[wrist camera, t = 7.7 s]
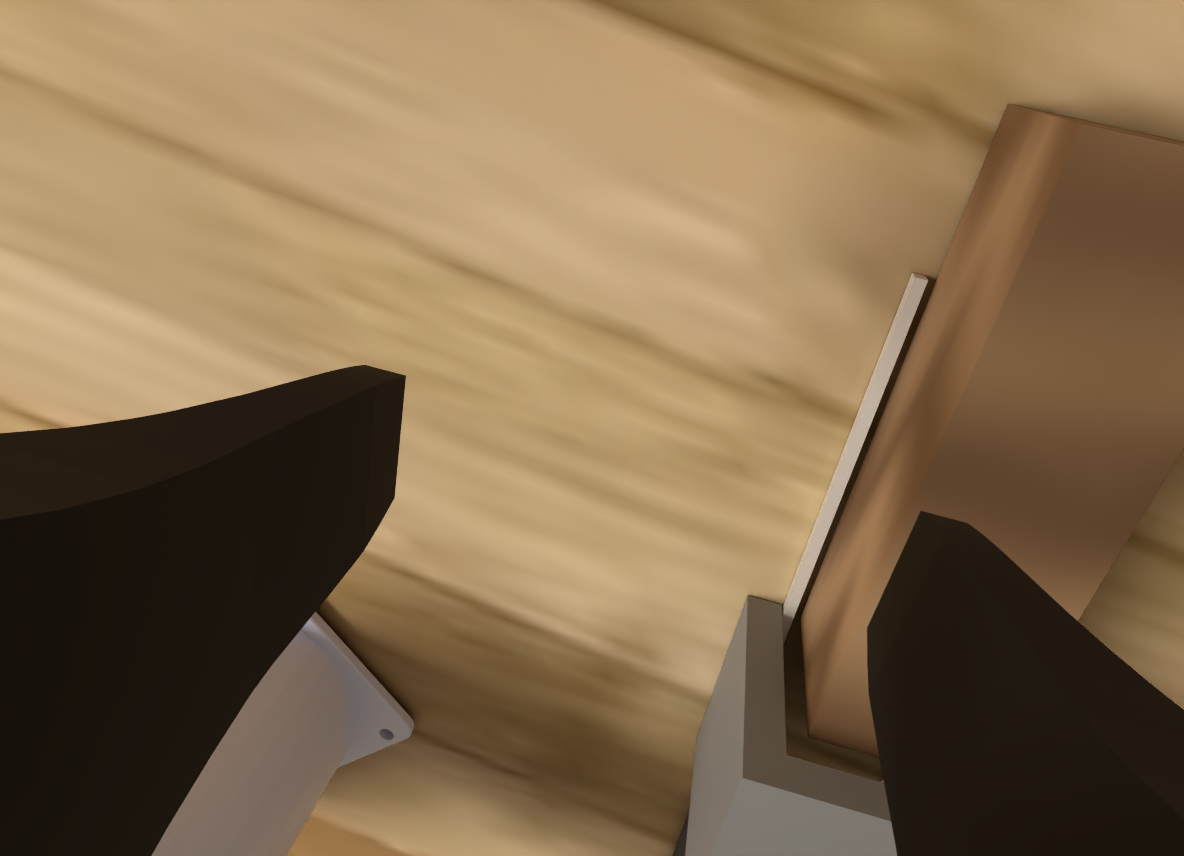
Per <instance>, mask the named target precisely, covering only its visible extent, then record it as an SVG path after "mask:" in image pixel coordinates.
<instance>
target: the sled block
mask: <svg viewBox="0 0 1184 856" xmlns="http://www.w3.org/2000/svg"><path fill="white" fill-rule="evenodd" d="M1183 449H1184V142H1181V141H1177V140H1172V139H1168V138H1163V137H1158V136H1154V135H1149V134H1145V133H1140V132H1136V131H1131V130H1126V129H1122V128H1117V127H1113V126H1108V125H1103V124H1099V123H1094V122H1090V121H1085V120H1081V119H1076V118H1071V117H1067V116H1062V115H1058V114H1053V113H1049V112H1044V111H1039V110H1035V109H1030V108H1026V107H1021V106H1017V105H1012V104H1007V107H1006V109H1005V112H1004V114H1003V117H1002V119H1001V121H1000V124H999V126H998V129H997V131H996V134H995V136H994V139H993V141H992V144H991V146H990V149H989V151H988V154H987V156H986V159H985V161H984V164H983V166H982V169H981V171H980V174H979V176H978V178H977V181H976V183H975V186H974V188H973V191H972V193H971V196H970V198H969V201H968V203H967V206H966V208H965V211H964V213H963V216H962V218H961V221H960V223H959V226H958V228H957V231H956V233H955V235H954V238H953V240H952V243H951V245H950V248H949V250H948V253H947V255H946V258H945V260H944V263H943V265H942V268H941V270H940V273H939V275H938V278H937V280H936V283H935V285H934V288H933V290H932V292H931V295H930V297H929V300H928V302H927V305H926V307H925V310H924V312H923V315H922V317H921V320H920V322H919V325H918V327H917V330H916V332H915V335H914V337H913V340H912V342H911V345H910V347H909V349H908V352H907V354H906V357H905V359H904V362H903V364H902V367H901V369H900V372H899V374H898V377H897V379H896V382H895V384H894V387H893V389H892V392H891V394H890V397H889V399H888V402H887V404H886V407H885V409H884V411H883V414H882V416H881V419H880V421H879V424H878V426H877V429H876V431H875V434H874V436H873V439H872V441H871V444H870V446H869V449H868V451H867V454H866V456H865V459H864V461H863V464H862V466H861V468H860V471H859V473H858V476H857V478H856V481H855V483H854V486H853V488H852V491H851V493H850V496H849V498H848V501H847V503H846V506H845V508H844V511H843V513H842V516H841V518H840V521H839V523H838V525H837V528H836V530H835V533H834V535H833V538H832V540H831V543H830V545H829V548H828V550H827V553H826V555H825V558H824V560H823V563H822V565H821V568H820V570H819V573H818V575H817V578H816V580H815V582H814V585H813V587H812V590H811V592H810V595H809V597H808V600H807V602H806V605H805V607H804V610H803V612H802V615H801V632H802V647H803V663H804V679H805V694H806V710H807V726H808V737H809V738H813V739H816V740H820V741H823V742H827V743H830V744H834V745H837V746H841V747H844V748H848V749H851V750H855V751H858V752H861V753H865V754H868V755H872V756H875V757H879V752H878V747H877V741H876V735H875V729H874V723H873V718H872V712H871V706H870V699H869V692H868V668H867V627H868V625H869V623H870V620H871V618H872V616H873V614H874V612H875V609H876V607H877V605H878V603H879V601H880V599H881V596H882V594H883V592H884V590H885V588H886V585H887V583H888V581H889V579H890V577H891V575H892V572H893V570H894V568H895V566H896V564H897V561H898V559H899V557H900V555H901V553H902V550H903V548H904V546H905V544H906V542H907V540H908V537H909V535H910V533H911V531H912V529H913V526H914V524H915V522H916V520H917V518H918V515H919V513H920V511H924V512H928V513H932V514H935V515H939V516H943V517H947V518H951V519H954V520H958V521H962V522H966V523H968V524H970V525H971V526H972V527H974V528H975V529H977V530H978V531H979V532H980V533H982V534H983V535H984V536H985V537H986V538H988V539H989V540H990V541H991V542H992V543H993V544H995V545H996V546H997V547H998V548H999V549H1000V550H1001V551H1002V552H1004V553H1005V554H1006V555H1007V556H1008V557H1009V558H1010V559H1011V560H1012V561H1013V562H1014V563H1015V564H1017V565H1018V566H1019V567H1020V568H1021V569H1022V570H1023V571H1024V572H1025V573H1026V574H1027V575H1028V576H1029V577H1030V578H1032V579H1033V580H1034V581H1035V582H1036V583H1037V584H1038V585H1039V586H1040V587H1041V588H1042V589H1043V590H1044V591H1045V592H1047V593H1048V594H1049V595H1050V596H1051V597H1052V598H1053V599H1054V600H1055V601H1056V602H1057V603H1058V604H1059V605H1061V606H1062V607H1063V608H1064V609H1065V610H1066V611H1067V612H1068V613H1069V614H1070V615H1071V616H1073V617H1074V618H1075V619H1076V620H1077V621H1078V620H1079V618H1080V617H1081V615H1082V614H1083V612H1084V610H1085V609H1086V607H1087V605H1088V604H1089V602H1090V600H1091V599H1092V597H1093V596H1094V594H1095V592H1096V591H1097V589H1098V587H1099V586H1100V584H1101V583H1102V581H1103V579H1104V578H1105V576H1106V574H1107V573H1108V571H1109V569H1110V568H1111V566H1112V565H1113V563H1114V561H1115V560H1116V558H1117V556H1118V555H1119V553H1120V552H1121V550H1122V548H1123V547H1124V545H1125V543H1126V542H1127V540H1128V538H1129V537H1130V535H1131V534H1132V532H1133V530H1134V529H1135V527H1136V525H1137V524H1138V522H1139V520H1140V519H1141V517H1142V516H1143V514H1144V512H1145V511H1146V509H1147V507H1148V506H1149V504H1150V503H1151V501H1152V499H1153V498H1154V496H1155V494H1156V493H1157V491H1158V489H1159V488H1160V486H1161V485H1162V483H1163V481H1164V480H1165V478H1166V476H1167V475H1168V473H1169V471H1170V470H1171V468H1172V467H1173V465H1174V463H1175V462H1176V460H1177V458H1178V457H1179V455H1180V454H1181V452H1182V450H1183Z"/></svg>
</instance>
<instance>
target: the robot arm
mask: <svg viewBox="0 0 1184 856" xmlns="http://www.w3.org/2000/svg"><path fill="white" fill-rule="evenodd" d="M405 379H406V376H405V375H401V374H397V373H393V372H390V371H386V370H382V369H378V368H374V367H371V366H367V365H361V366H353V367H348V368H343V369H339V370H334V371H330V372H326V373H322V374H319V375H315V376H311V377H307V378H304V379H300V380H296V381H293V382H289V383H285V384H281V385H278V386H274V387H270V388H267V389H263V390H259V391H256V392H252V393H248V394H244V395H240V396H236V397H232V398H227V399H223V400H219V401H214V402H210V403H206V404H201V405H197V406H193V407H188V408H184V409H180V410H175V411H171V412H166V413H161V414H156V415H150V416H145V417H139V418H133V419H127V420H120V421H113V422H107V423H100V424H93V425H86V426H78V427H70V428H60V429H48V430H36V431H24V432H12V433H0V856H287V854H288V853H289V851H290V849H291V847H292V846H293V844H294V842H295V840H296V839H297V837H298V835H299V834H300V832H301V830H302V828H303V827H304V825H305V823H306V822H307V820H308V818H309V816H310V815H311V813H312V811H313V810H314V808H315V806H316V804H317V803H318V801H319V799H320V797H321V796H322V794H323V792H324V791H325V789H326V787H327V785H328V784H329V782H330V780H331V779H332V777H333V775H334V773H335V772H336V770H337V768H338V767H341V766H343V765H346V764H348V763H350V762H353V761H355V760H358V759H360V758H362V757H365V756H367V755H370V754H372V753H374V752H377V751H379V750H381V749H384V748H386V747H389V746H391V745H393V744H396V743H398V742H401V741H403V740H405V739H407V738H409V737H410V735H411V733H412V731H413V729H414V727H415V726H414V721H413V720H412V718H411V717H410V716H409V715H408V714H407V713H406V711H405V710H404V709H403V708H402V707H401V706H400V705H399V704H398V703H397V701H396V700H395V699H394V698H393V697H392V696H391V695H390V694H389V693H388V691H387V690H386V689H385V688H384V687H383V686H382V685H381V684H380V683H379V681H378V680H377V679H376V678H375V677H374V676H373V675H372V674H371V672H370V671H369V670H368V669H367V668H366V667H365V666H364V665H363V664H362V662H361V661H360V660H359V659H358V658H357V657H356V656H355V655H354V654H353V652H352V651H351V650H350V649H349V648H348V647H347V646H346V645H345V644H344V642H343V641H342V640H341V639H340V638H339V637H338V636H337V635H336V634H335V632H334V631H333V630H332V629H331V628H330V627H329V626H328V625H327V623H326V622H325V621H324V620H323V619H322V618H321V617H320V616H319V615H318V613H317V612H316V610H317V609H318V608H319V607H320V605H321V604H322V603H323V602H324V600H325V599H326V598H327V597H328V596H329V594H330V593H331V592H332V591H333V589H334V588H335V587H336V586H337V584H338V583H339V582H340V580H341V579H342V578H343V577H344V575H345V574H346V573H347V572H348V570H349V569H350V568H351V567H352V565H353V564H354V563H355V561H356V560H357V559H358V558H359V556H360V555H361V554H362V552H363V551H364V549H365V548H366V546H367V545H368V543H369V541H370V540H371V538H372V536H373V535H374V533H375V531H376V530H377V528H378V526H379V524H380V523H381V521H382V519H383V517H384V516H385V514H386V512H387V510H388V508H389V507H390V505H391V503H392V501H393V500H394V497H395V486H396V476H397V465H398V454H399V443H400V433H401V422H402V411H403V400H404V390H405ZM867 668H868V692H869V699H870V706H871V712H872V718H873V723H874V729H875V735H876V741H877V747H878V752H879V758H880V763H881V769H882V774H883V780H884V785H885V791H886V796H887V802H888V807H889V813H890V818H891V824H892V829H893V835H894V840H895V846H896V851H897V856H1184V710H1183V709H1182V708H1180V707H1179V706H1178V705H1177V704H1175V703H1174V702H1173V701H1172V700H1170V699H1169V698H1168V697H1166V696H1165V695H1164V694H1163V693H1161V692H1160V691H1159V690H1158V689H1156V688H1155V687H1154V686H1153V685H1151V684H1150V683H1149V682H1148V681H1147V680H1145V679H1144V678H1143V677H1142V676H1141V675H1139V674H1138V673H1137V672H1136V671H1135V670H1133V669H1132V668H1131V667H1130V666H1129V665H1127V664H1126V663H1125V662H1124V661H1123V660H1122V659H1120V658H1119V657H1118V656H1117V655H1116V654H1114V653H1113V652H1112V651H1111V650H1110V649H1108V648H1107V647H1106V646H1105V645H1104V644H1103V643H1102V642H1100V641H1099V640H1098V639H1097V638H1096V637H1095V636H1094V635H1093V634H1091V633H1090V632H1089V631H1088V630H1087V629H1086V628H1085V627H1084V626H1082V625H1081V624H1080V623H1079V622H1078V621H1077V620H1076V619H1075V618H1074V617H1073V616H1071V615H1070V614H1069V613H1068V612H1067V611H1066V610H1065V609H1064V608H1063V607H1062V606H1061V605H1059V604H1058V603H1057V602H1056V601H1055V600H1054V599H1053V598H1052V597H1051V596H1050V595H1049V594H1048V593H1047V592H1045V591H1044V590H1043V589H1042V588H1041V587H1040V586H1039V585H1038V584H1037V583H1036V582H1035V581H1034V580H1033V579H1032V578H1030V577H1029V576H1028V575H1027V574H1026V573H1025V572H1024V571H1023V570H1022V569H1021V568H1020V567H1019V566H1018V565H1017V564H1015V563H1014V562H1013V561H1012V560H1011V559H1010V558H1009V557H1008V556H1007V555H1006V554H1005V553H1004V552H1002V551H1001V550H1000V549H999V548H998V547H997V546H996V545H995V544H993V543H992V542H991V541H990V540H989V539H988V538H986V537H985V536H984V535H983V534H982V533H980V532H979V531H978V530H977V529H975V528H974V527H972V526H971V525H970V524H968V523H966V522H962V521H958V520H954V519H951V518H947V517H943V516H939V515H935V514H932V513H928V512H924V511H920V513H919V515H918V518H917V520H916V522H915V524H914V526H913V529H912V531H911V533H910V535H909V537H908V540H907V542H906V544H905V546H904V548H903V550H902V553H901V555H900V557H899V559H898V561H897V564H896V566H895V568H894V570H893V572H892V575H891V577H890V579H889V581H888V583H887V585H886V588H885V590H884V592H883V594H882V596H881V599H880V601H879V603H878V605H877V607H876V609H875V612H874V614H873V616H872V618H871V620H870V623H869V625H868V627H867ZM389 730H390V731H389Z"/></svg>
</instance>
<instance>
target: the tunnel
mask: <svg viewBox="0 0 1184 856" xmlns="http://www.w3.org/2000/svg"><path fill="white" fill-rule="evenodd" d="M927 282H928V279H927V278H926V276H924V275H919V274H915V273H912V274H911V277H910V280H909V282H908V285H907V287H906V290H905V292H904V295H903V298H902V300H901V303H900V305H899V308H898V311H897V313H896V316H895V318H894V321H893V323H892V326H891V329H890V331H889V334H888V336H887V339H886V342H885V344H884V347H883V349H882V352H881V354H880V357H879V360H878V362H877V365H876V367H875V370H874V373H873V375H872V378H871V380H870V383H869V385H868V388H867V391H866V393H865V396H864V398H863V401H862V404H861V406H860V409H859V411H858V414H857V416H856V419H855V422H854V424H853V427H852V429H851V432H850V435H849V437H848V440H847V442H846V445H845V447H844V450H843V453H842V455H841V458H840V460H839V463H838V466H837V468H836V471H835V473H834V476H833V478H832V481H831V484H830V486H829V489H828V491H827V494H826V497H825V499H824V502H823V504H822V507H821V509H820V512H819V515H818V517H817V520H816V522H815V525H814V528H813V530H812V533H811V535H810V538H809V540H808V543H807V546H806V548H805V551H804V553H803V556H802V558H801V561H800V564H799V566H798V569H797V571H796V574H795V577H794V579H793V582H792V584H791V587H790V589H789V592H788V595H787V597H786V600H785V602H784V605H783V608H782V605H781V604H777V603H773V602H770V601H766V600H762V599H759V598H755V597H752V596H747V599H746V601H745V604H744V607H743V610H742V612H741V615H740V618H739V621H738V624H737V626H736V629H735V632H734V635H733V638H732V640H731V643H730V646H729V649H728V652H727V654H726V657H725V660H724V663H723V666H722V668H721V671H720V674H719V677H718V680H717V682H716V685H715V688H714V691H713V693H712V696H711V699H710V702H709V705H708V707H707V710H706V713H705V716H704V719H703V721H702V724H701V727H700V730H699V733H698V735H697V738H696V746H695V756H694V767H693V777H692V788H691V798H690V809H689V819H688V830H687V840H686V851H685V856H897V851H896V846H895V840H894V835H893V829H892V824H891V818H890V813H889V807H888V802H887V796H886V791H885V785H884V780H882V781H881V782H878V781H875V780H871V779H868V778H864V777H861V776H857V775H854V774H851V773H847V772H844V771H840V770H837V769H833V768H830V767H826V766H823V765H820V764H816V763H813V762H809V761H806V760H802V759H799V758H795V757H792V756H789V755H787V754H786V723H785V692H784V661H783V644H784V641H785V639H786V636H787V634H788V631H789V629H790V626H791V624H792V621H793V619H794V616H795V613H796V611H797V608H798V606H799V603H800V601H801V598H802V596H803V593H804V591H805V588H806V586H807V583H808V581H809V578H810V576H811V573H812V571H813V568H814V566H815V563H816V561H817V558H818V556H819V553H820V551H821V548H822V546H823V543H824V541H825V538H826V536H827V533H828V531H829V528H830V526H831V523H832V521H833V518H834V516H835V513H836V511H837V508H838V506H839V503H840V501H841V498H842V496H843V493H844V491H845V488H846V486H847V483H848V481H849V478H850V476H851V473H852V470H853V468H854V465H855V463H856V460H857V458H858V455H859V453H860V450H861V448H862V445H863V443H864V440H865V438H866V435H867V433H868V430H869V428H870V425H871V423H872V420H873V418H874V415H875V413H876V410H877V408H878V405H879V403H880V400H881V398H882V395H883V393H884V390H885V388H886V385H887V383H888V380H889V378H890V375H891V373H892V370H893V368H894V365H895V363H896V360H897V358H898V355H899V353H900V350H901V348H902V345H903V343H904V340H905V338H906V335H907V332H908V330H909V327H910V325H911V322H912V320H913V317H914V315H915V312H916V310H917V307H918V305H919V302H920V300H921V297H922V295H923V292H924V290H925V287H926V285H927Z"/></svg>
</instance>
